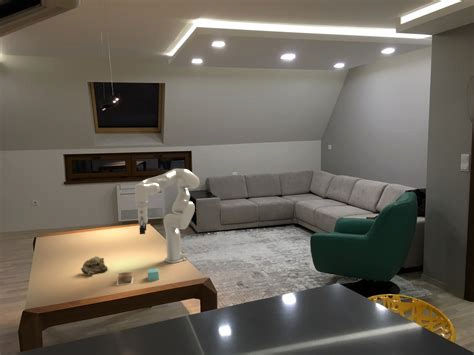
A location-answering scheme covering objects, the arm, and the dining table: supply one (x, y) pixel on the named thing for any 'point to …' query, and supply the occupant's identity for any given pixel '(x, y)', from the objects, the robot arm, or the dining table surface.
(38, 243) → the dining table surface
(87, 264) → the mineral specimen
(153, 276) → the teal block
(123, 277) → the walnut block
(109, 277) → the dining table surface
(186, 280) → the dining table surface
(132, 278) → the grey square mat
